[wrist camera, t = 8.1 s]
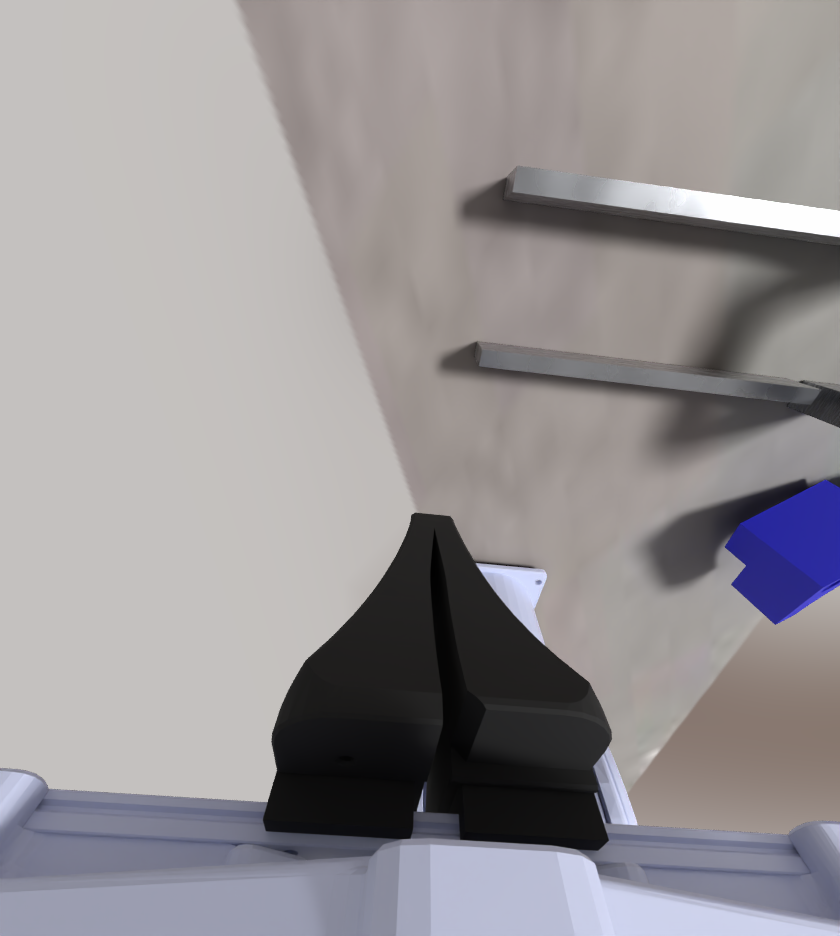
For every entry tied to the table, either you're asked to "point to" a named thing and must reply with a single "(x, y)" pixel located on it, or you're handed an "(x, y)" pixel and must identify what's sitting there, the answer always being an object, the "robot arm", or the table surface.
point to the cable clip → (790, 552)
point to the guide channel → (672, 209)
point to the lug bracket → (822, 403)
